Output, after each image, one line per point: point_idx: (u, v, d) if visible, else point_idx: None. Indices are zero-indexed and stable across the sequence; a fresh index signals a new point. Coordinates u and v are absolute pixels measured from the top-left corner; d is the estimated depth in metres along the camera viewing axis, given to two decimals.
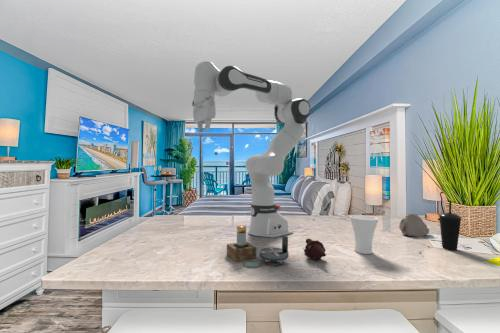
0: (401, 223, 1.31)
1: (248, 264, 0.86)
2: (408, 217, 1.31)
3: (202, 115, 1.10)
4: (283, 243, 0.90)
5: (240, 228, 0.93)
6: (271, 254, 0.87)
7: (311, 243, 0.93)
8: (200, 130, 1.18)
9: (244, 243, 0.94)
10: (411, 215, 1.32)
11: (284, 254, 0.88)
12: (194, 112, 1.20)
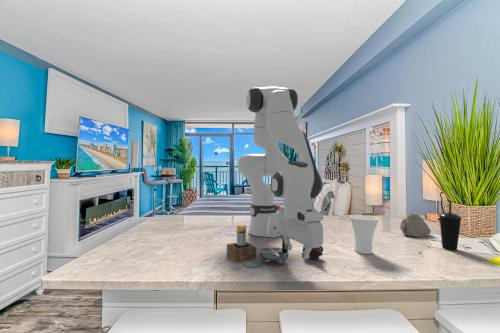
0: (402, 223, 1.30)
1: (248, 264, 0.86)
2: (409, 217, 1.30)
3: None
4: (283, 243, 0.91)
5: (240, 228, 0.93)
6: (271, 254, 0.87)
7: None
8: None
9: (244, 243, 0.94)
10: (412, 215, 1.31)
11: (284, 254, 0.88)
12: None
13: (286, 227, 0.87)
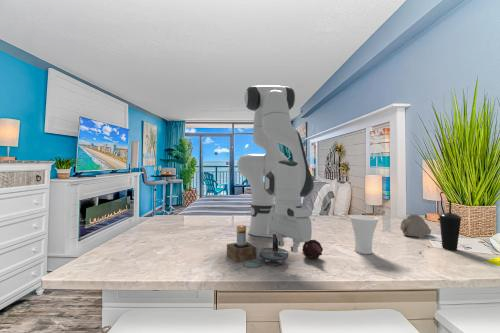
0: (402, 223, 1.30)
1: (248, 264, 0.86)
2: (409, 217, 1.30)
3: None
4: (276, 241, 0.93)
5: (240, 228, 0.93)
6: (281, 254, 0.88)
7: (308, 242, 0.94)
8: None
9: (244, 243, 0.94)
10: (412, 215, 1.31)
11: (283, 250, 0.92)
12: None
13: (277, 223, 0.91)
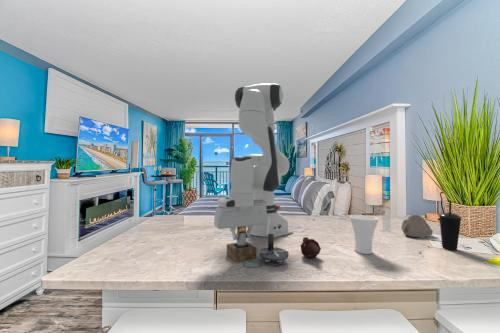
0: (403, 224, 1.29)
1: (248, 264, 0.86)
2: (410, 218, 1.29)
3: (253, 222, 0.95)
4: (272, 240, 0.94)
5: (240, 228, 0.93)
6: (282, 253, 0.89)
7: (306, 241, 0.95)
8: None
9: (244, 243, 0.94)
10: (414, 216, 1.30)
11: (279, 249, 0.94)
12: (223, 215, 0.89)
13: None
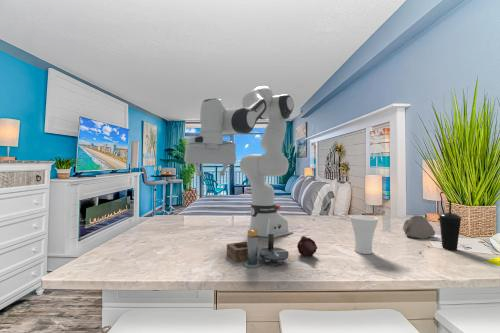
0: (405, 224, 1.28)
1: None
2: (412, 218, 1.28)
3: (222, 160, 1.01)
4: (272, 240, 0.94)
5: (251, 232, 0.86)
6: (282, 253, 0.89)
7: (302, 240, 0.97)
8: None
9: (256, 249, 0.86)
10: (416, 216, 1.29)
11: (279, 249, 0.94)
12: (192, 150, 0.96)
13: None
